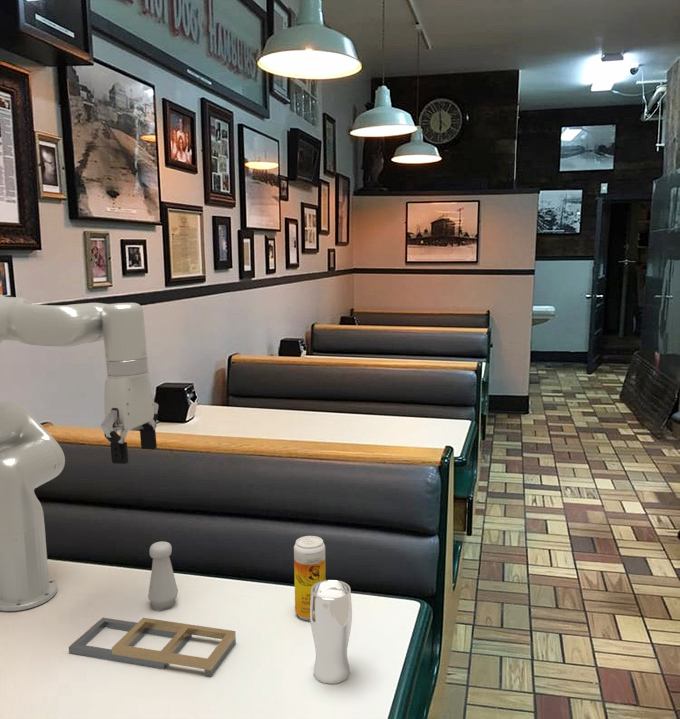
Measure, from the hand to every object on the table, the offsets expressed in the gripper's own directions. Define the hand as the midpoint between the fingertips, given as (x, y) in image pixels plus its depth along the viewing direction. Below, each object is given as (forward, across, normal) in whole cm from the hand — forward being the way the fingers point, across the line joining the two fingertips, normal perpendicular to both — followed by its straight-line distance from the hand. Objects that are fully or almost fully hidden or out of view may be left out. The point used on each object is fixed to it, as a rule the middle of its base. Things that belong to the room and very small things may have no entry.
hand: (135, 455), depth 124 cm
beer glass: (+34, +10, +41) cm, 54 cm away
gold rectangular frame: (+32, +11, +12) cm, 36 cm away
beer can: (+33, -7, +32) cm, 46 cm away
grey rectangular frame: (+32, +11, +4) cm, 34 cm away
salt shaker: (+32, -2, +2) cm, 32 cm away
